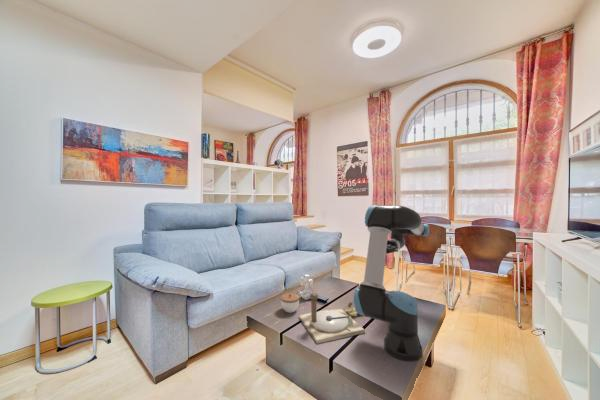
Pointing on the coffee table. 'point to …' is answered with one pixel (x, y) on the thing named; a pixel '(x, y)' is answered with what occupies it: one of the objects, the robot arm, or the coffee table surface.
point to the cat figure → (351, 311)
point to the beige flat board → (323, 336)
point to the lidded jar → (290, 302)
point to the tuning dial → (326, 318)
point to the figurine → (306, 287)
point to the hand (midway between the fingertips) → (376, 252)
